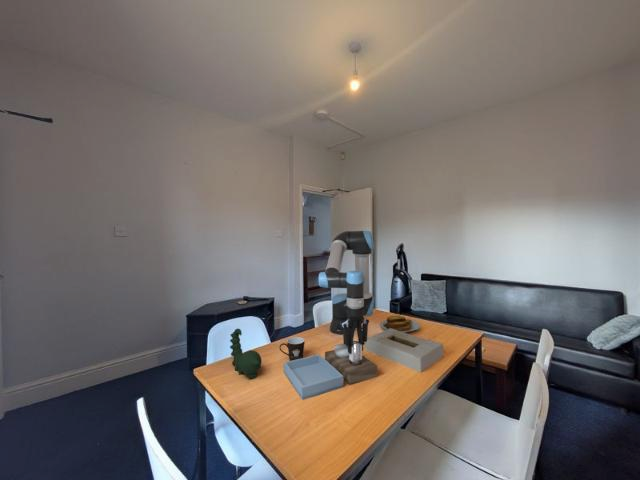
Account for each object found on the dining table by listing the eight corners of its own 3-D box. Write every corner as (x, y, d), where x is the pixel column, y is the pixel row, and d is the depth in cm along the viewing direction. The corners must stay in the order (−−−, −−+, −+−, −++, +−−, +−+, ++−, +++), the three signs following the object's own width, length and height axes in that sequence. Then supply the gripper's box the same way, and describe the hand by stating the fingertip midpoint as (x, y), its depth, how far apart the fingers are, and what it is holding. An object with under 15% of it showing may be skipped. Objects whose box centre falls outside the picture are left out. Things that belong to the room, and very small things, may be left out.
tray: (283, 372, 117) (283, 362, 117) (319, 363, 125) (319, 354, 125) (302, 399, 98) (302, 387, 98) (343, 387, 106) (343, 376, 106)
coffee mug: (307, 357, 131) (307, 338, 131) (300, 366, 123) (300, 345, 123) (286, 354, 135) (286, 335, 135) (278, 362, 127) (278, 341, 127)
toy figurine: (225, 369, 124) (249, 387, 105) (223, 329, 125) (246, 339, 106) (244, 363, 130) (269, 379, 111) (242, 324, 131) (267, 333, 112)
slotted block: (364, 351, 140) (421, 374, 116) (364, 336, 140) (421, 356, 116) (389, 340, 155) (444, 358, 131) (389, 327, 155) (444, 342, 131)
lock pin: (350, 373, 116) (350, 341, 116) (356, 371, 118) (356, 340, 118) (354, 376, 113) (354, 344, 113) (361, 374, 115) (361, 343, 114)
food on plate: (413, 338, 155) (413, 327, 155) (374, 330, 170) (374, 320, 170) (424, 326, 176) (424, 316, 176) (388, 319, 190) (388, 310, 190)
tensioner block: (325, 362, 127) (324, 345, 127) (349, 356, 133) (349, 340, 133) (349, 385, 107) (349, 365, 107) (377, 376, 113) (376, 358, 113)
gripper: (343, 311, 108) (344, 367, 108) (375, 306, 115) (376, 358, 116) (334, 306, 115) (335, 359, 115) (365, 302, 122) (365, 352, 122)
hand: (355, 359), depth 115 cm, fingers closed on lock pin, 3 cm apart
